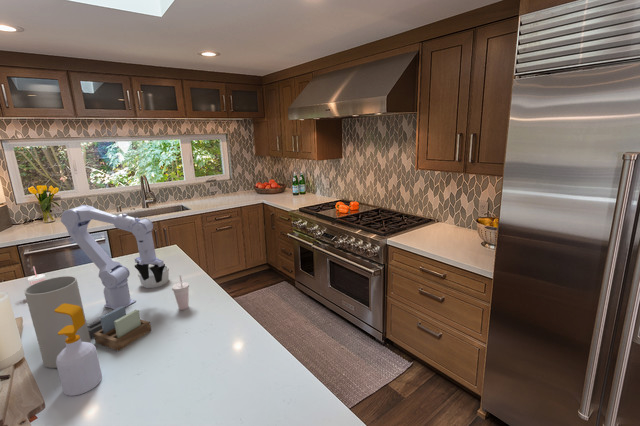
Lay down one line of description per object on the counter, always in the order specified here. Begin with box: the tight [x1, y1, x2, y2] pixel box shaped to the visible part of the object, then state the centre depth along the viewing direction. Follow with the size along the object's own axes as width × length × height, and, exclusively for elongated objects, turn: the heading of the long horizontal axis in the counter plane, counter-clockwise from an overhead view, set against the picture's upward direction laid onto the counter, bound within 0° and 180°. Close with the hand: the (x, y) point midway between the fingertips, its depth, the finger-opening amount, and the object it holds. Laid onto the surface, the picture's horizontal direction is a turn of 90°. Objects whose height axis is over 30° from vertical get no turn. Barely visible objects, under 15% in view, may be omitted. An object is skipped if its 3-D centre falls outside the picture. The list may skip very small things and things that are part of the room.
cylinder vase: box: [23, 275, 92, 369], centre depth 104 cm, size 12×12×25 cm
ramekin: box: [137, 264, 170, 289], centre depth 157 cm, size 13×13×7 cm
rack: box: [93, 318, 152, 352], centre depth 116 cm, size 12×12×4 cm
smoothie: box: [171, 275, 190, 311], centre depth 133 cm, size 6×6×14 cm
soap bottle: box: [55, 303, 103, 397], centre depth 91 cm, size 9×9×25 cm
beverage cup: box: [27, 265, 46, 286], centre depth 149 cm, size 6×6×14 cm
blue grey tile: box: [99, 306, 127, 334], centre depth 117 cm, size 1×8×9 cm, turn 155°
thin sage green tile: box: [114, 309, 141, 339], centre depth 114 cm, size 1×8×9 cm, turn 155°
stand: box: [87, 319, 102, 340], centre depth 122 cm, size 4×12×3 cm, turn 155°
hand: (152, 280), depth 136 cm, fingers open, 7 cm apart
